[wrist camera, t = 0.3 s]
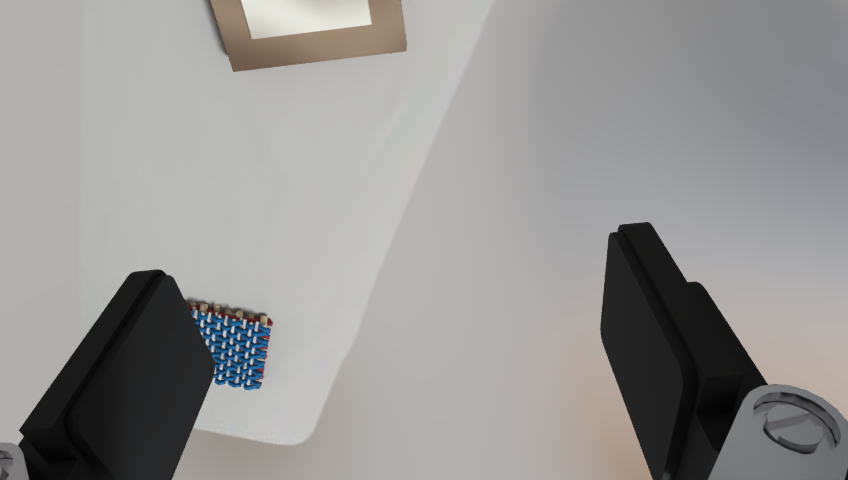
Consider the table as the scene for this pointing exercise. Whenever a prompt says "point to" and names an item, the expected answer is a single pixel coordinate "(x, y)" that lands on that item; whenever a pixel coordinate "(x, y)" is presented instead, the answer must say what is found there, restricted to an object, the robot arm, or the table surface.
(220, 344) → the woven mat
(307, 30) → the picture frame
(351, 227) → the table surface
